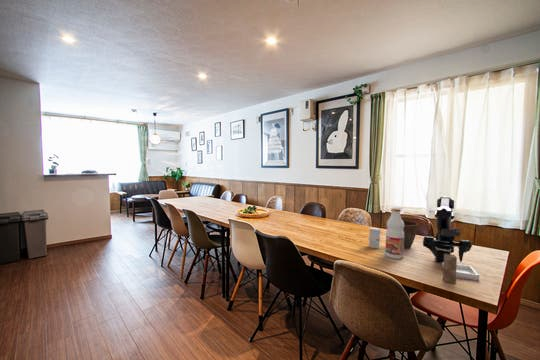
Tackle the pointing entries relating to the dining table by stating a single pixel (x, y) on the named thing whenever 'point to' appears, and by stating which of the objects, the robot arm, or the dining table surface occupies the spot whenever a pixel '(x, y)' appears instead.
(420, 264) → the dining table surface
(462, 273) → the tray
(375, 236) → the skincare box
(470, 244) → the robot arm
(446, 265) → the walnut block
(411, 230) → the plant pot
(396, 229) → the fruit juice
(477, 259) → the dining table surface
